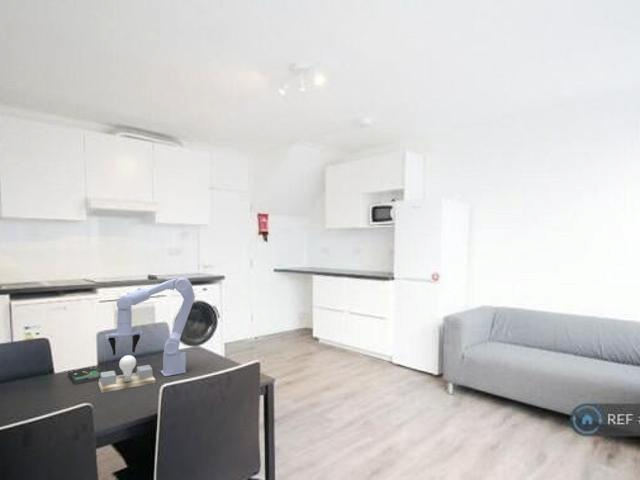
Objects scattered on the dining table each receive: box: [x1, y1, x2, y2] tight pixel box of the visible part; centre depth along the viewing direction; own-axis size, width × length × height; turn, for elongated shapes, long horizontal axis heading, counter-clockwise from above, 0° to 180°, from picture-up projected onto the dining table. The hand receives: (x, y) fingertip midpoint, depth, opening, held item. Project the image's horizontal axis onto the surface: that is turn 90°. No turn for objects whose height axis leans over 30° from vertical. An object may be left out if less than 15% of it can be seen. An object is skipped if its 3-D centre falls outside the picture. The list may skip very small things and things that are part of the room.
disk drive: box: [67, 366, 101, 386], centre depth 168 cm, size 10×3×15 cm
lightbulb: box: [118, 354, 137, 382], centre depth 159 cm, size 6×6×11 cm
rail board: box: [98, 364, 156, 394], centre depth 161 cm, size 20×11×5 cm, turn 125°
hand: (123, 353), depth 170 cm, fingers open, 7 cm apart
